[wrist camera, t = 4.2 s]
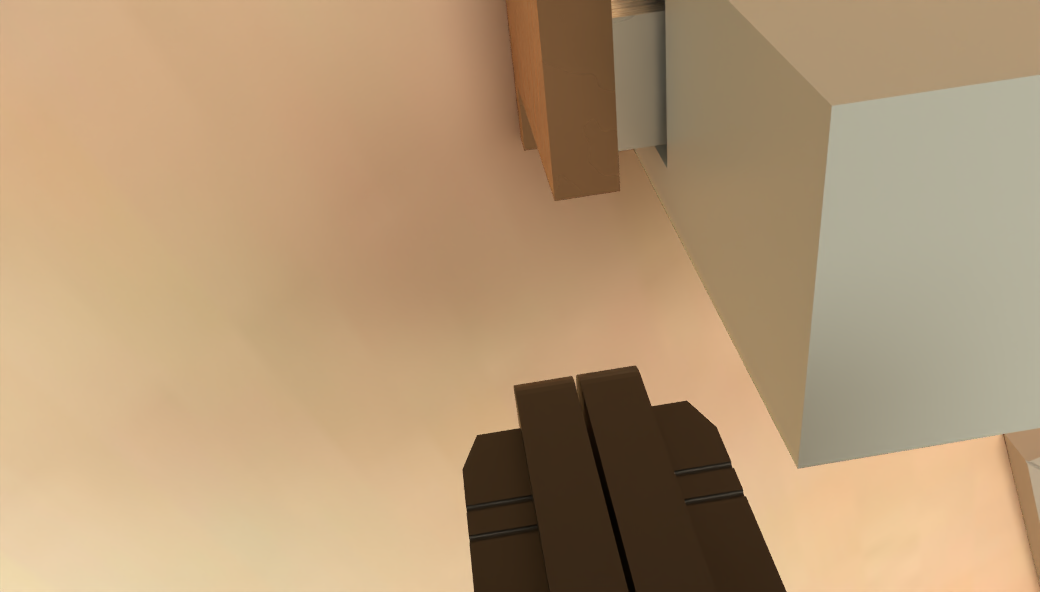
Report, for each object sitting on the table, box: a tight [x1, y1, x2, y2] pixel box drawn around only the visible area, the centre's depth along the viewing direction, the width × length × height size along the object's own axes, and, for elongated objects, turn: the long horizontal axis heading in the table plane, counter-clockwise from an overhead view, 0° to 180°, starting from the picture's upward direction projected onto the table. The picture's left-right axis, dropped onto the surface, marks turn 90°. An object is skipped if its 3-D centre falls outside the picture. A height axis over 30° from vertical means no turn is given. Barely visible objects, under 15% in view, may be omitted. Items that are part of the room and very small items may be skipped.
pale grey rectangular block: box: [634, 0, 1040, 469], centre depth 19 cm, size 5×6×14 cm
